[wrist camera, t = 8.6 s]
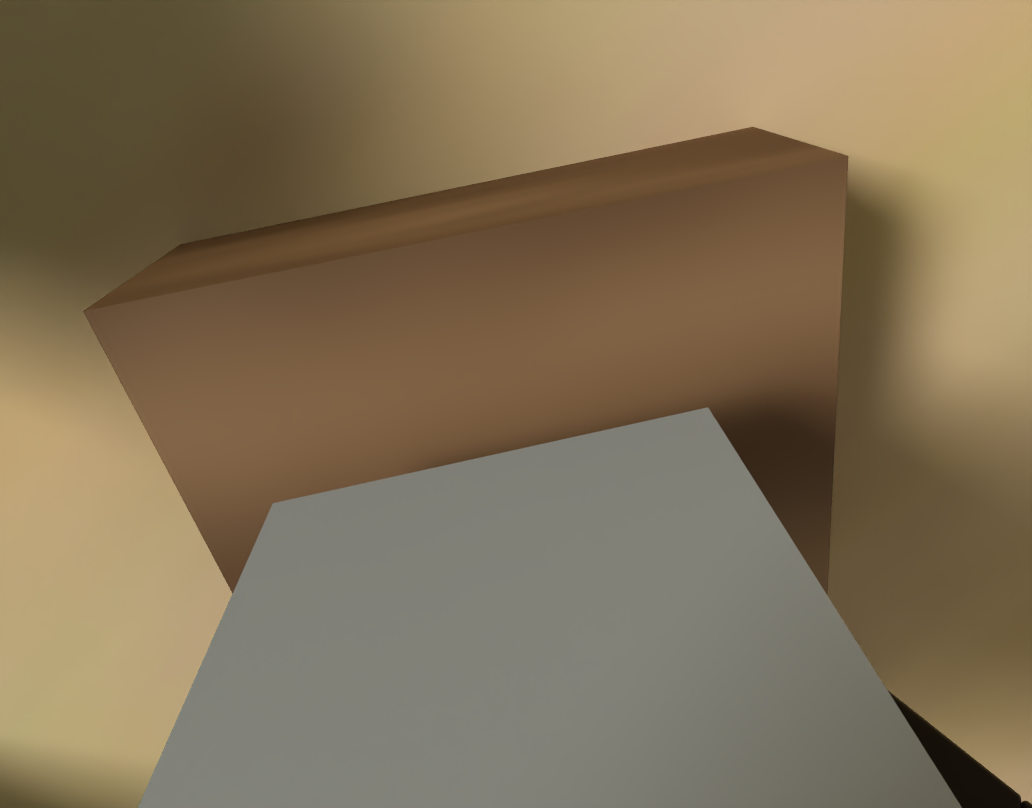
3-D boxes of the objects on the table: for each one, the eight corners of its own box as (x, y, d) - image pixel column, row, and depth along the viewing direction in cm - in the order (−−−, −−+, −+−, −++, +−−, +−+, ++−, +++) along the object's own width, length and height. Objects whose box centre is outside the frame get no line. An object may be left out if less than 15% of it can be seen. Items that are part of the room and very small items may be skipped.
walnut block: (754, 560, 18) (822, 686, 14) (355, 631, 18) (326, 770, 15) (745, 124, 13) (848, 156, 9) (187, 239, 13) (83, 311, 10)
